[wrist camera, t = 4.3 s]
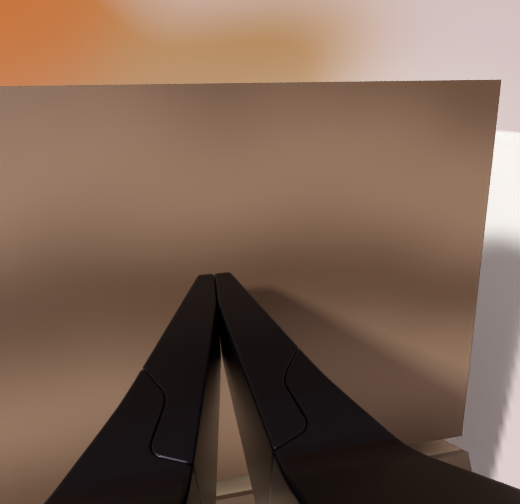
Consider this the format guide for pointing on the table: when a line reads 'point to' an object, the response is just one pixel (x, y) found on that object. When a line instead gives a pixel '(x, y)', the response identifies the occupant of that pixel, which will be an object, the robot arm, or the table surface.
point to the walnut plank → (236, 245)
